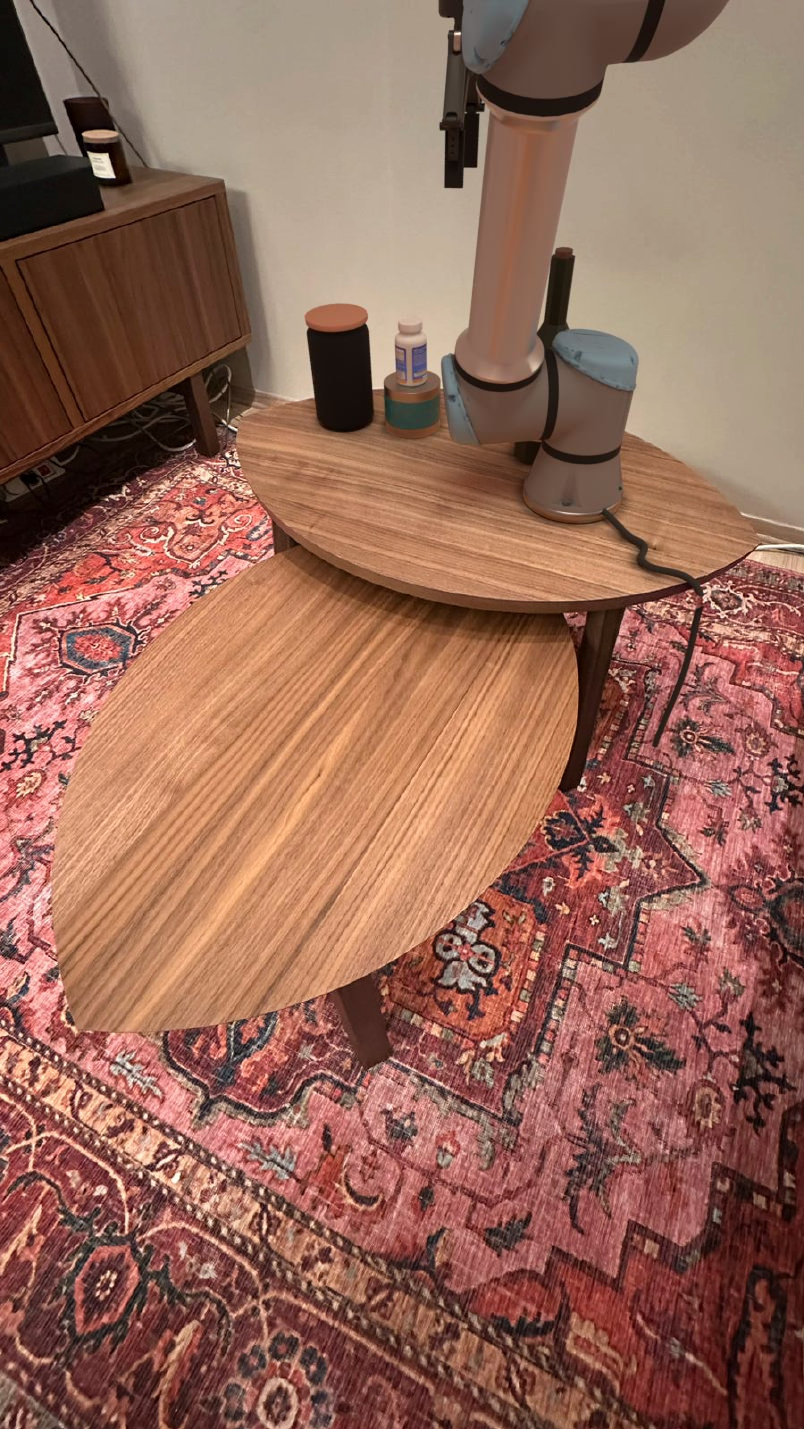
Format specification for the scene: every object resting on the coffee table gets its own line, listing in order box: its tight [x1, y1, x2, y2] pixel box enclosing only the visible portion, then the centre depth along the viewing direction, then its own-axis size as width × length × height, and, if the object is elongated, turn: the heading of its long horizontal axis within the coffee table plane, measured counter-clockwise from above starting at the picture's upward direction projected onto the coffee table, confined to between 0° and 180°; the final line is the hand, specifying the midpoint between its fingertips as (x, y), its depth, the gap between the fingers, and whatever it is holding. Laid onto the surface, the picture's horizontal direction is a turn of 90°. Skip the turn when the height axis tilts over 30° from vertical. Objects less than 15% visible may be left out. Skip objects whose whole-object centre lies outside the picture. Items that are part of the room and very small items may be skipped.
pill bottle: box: [394, 315, 428, 386], centre depth 116 cm, size 5×5×10 cm
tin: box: [383, 370, 442, 440], centre depth 123 cm, size 10×10×8 cm
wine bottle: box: [513, 246, 576, 466], centre depth 106 cm, size 8×8×30 cm
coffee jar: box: [304, 302, 375, 433], centre depth 121 cm, size 11×11×18 cm
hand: (461, 177), depth 105 cm, fingers open, 13 cm apart
